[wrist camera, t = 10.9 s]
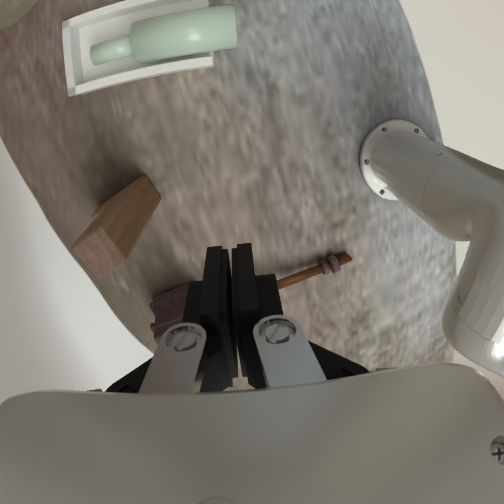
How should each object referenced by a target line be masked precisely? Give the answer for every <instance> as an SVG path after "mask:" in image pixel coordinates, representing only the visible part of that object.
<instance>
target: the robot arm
mask: <svg viewBox="0 0 504 504" xmlns="http://www.w3.org/2000/svg"><path fill="white" fill-rule="evenodd" d="M382 128H383V130H382ZM414 129H415V131H414ZM365 159H366V161H365V162H364V160H365ZM360 170H361V173H362V177H363V179H364V181H365V183H366V184H367V186H368V187H369V188H370V189H371V190H372V191H373V192H374V193H375V194H377V195H378V196H380V197H382V198H384V199H387V200H393V201H396V200H400V201H401V202H403V203H404V204H405V205H406V206H408V207H409V208H410V209H411V210H412V211H414V212H415V213H416V214H417V215H418V216H419V217H421V218H422V219H423V220H424V221H425V222H426V223H428V224H429V225H430V226H431V227H432V228H434V229H435V230H436V231H437V232H438V233H439V234H441V235H442V236H444V237H446V238H448V239H450V240H454V241H470V245H469V247H468V251H467V253H466V257H465V260H464V262H463V265H462V267H461V270H460V272H459V275H458V277H457V280H456V282H455V284H454V287H453V289H452V291H451V294H450V296H449V299H448V301H447V303H446V306H445V309H444V312H443V317H442V328H443V332H444V334H445V337H446V339H447V340H448V342H449V343H450V344H451V346H452V347H453V348H454V349H455V350H456V351H458V352H459V353H460V354H461V355H463V356H464V357H466V358H467V359H469V360H470V361H472V362H474V363H476V364H477V365H479V366H481V367H483V368H485V369H487V370H489V371H491V372H493V373H495V374H497V375H499V376H502V377H504V170H502V169H499V168H496V167H494V166H491V165H489V164H487V163H484V162H482V161H479V160H477V159H475V158H473V157H470V156H468V155H466V154H464V153H461V152H459V151H456V150H454V149H451V148H449V147H447V146H444V145H442V144H440V143H437V142H434V141H432V140H429V139H428V137H427V136H426V134H425V133H424V132H423V130H422V129H421V128H420V127H418V126H417V125H415V124H414V123H411V122H409V121H405V120H400V119H393V120H388V121H385V122H383V123H381V124H379V125H378V126H376V127H375V128H374V129H373V130H372V131H371V132H370V133H369V134H368V136H367V137H366V139H365V141H364V143H363V145H362V149H361V153H360ZM380 190H381V191H380ZM237 346H238V352H239V358H240V364H241V370H242V376H243V377H248V383H249V384H250V385H251V386H253V387H254V388H256V389H249V390H236V391H223V390H225V389H226V388H227V387H233V381H232V378H236V377H238V359H237ZM0 504H504V400H503V399H502V397H501V396H500V394H499V393H498V391H497V390H496V389H495V387H494V386H493V385H492V384H491V382H490V381H489V380H488V379H487V378H486V377H485V376H484V375H483V374H481V373H480V372H479V371H477V370H476V369H474V368H471V367H468V366H465V365H460V364H452V363H425V364H417V365H409V366H404V367H397V368H376V370H375V371H368V370H367V369H366V368H364V367H363V366H361V365H359V364H357V363H355V362H353V361H350V360H348V359H346V358H344V357H342V356H340V355H337V354H335V353H333V352H331V351H329V350H327V349H325V348H322V347H320V346H318V345H316V344H314V343H312V342H310V341H308V340H307V338H306V336H305V334H304V332H303V330H302V328H301V326H300V324H299V323H298V322H297V321H296V320H295V319H293V318H292V317H289V316H286V315H283V310H282V306H281V301H280V296H279V291H278V286H277V281H276V277H275V274H268V275H258V276H255V272H254V263H253V254H252V246H251V243H244V244H237V248H232V276H231V269H230V262H229V254H228V249H222V246H214V247H207V253H206V261H205V268H204V275H203V281H194V282H190V283H189V286H188V292H187V297H186V303H185V308H184V314H183V320H182V323H180V324H177V325H174V326H172V327H170V328H169V329H168V330H167V331H165V332H164V334H163V335H162V337H161V339H160V342H159V344H158V346H157V349H156V351H155V354H154V356H153V357H152V358H151V359H149V360H148V361H146V362H145V363H143V364H142V365H140V366H139V367H138V368H136V369H134V370H133V371H131V372H130V373H129V374H127V375H126V376H124V377H122V378H121V379H119V380H118V381H116V382H115V383H113V384H112V385H111V386H110V387H109V388H108V389H107V390H106V391H105V392H103V391H102V390H101V389H96V390H89V391H74V390H35V391H28V392H24V393H21V394H17V395H15V396H12V397H10V398H8V399H6V400H5V401H4V402H2V403H1V405H0Z"/></svg>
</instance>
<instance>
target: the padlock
mask: <svg viewBox="0 0 504 504" xmlns="http://www.w3.org/2000/svg"><path fill="white" fill-rule="evenodd" d="M38 1H39V0H0V30H5V29H7V28H8V27H10V26H12V25H14V24H16V23H17V22H18V21H19V20H20V19H21V18H22V17H24V16H25V15H26V14H27V13H28V12H30V10H31V9H32V8H33V7H34V6H35V4H36V3H37V2H38Z"/></svg>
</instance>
